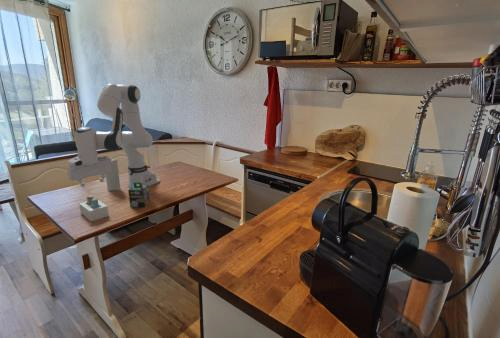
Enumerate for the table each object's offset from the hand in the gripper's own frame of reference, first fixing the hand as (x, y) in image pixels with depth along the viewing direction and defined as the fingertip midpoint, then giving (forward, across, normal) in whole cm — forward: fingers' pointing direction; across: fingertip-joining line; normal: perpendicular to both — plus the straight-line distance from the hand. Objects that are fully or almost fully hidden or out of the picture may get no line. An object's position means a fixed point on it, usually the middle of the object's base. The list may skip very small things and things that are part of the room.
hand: (92, 183), depth 142 cm
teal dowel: (+19, 0, 0) cm, 19 cm away
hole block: (+19, 0, -3) cm, 20 cm away
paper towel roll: (+20, -24, -32) cm, 45 cm away
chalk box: (+20, -24, +3) cm, 31 cm away
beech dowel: (+19, 0, -6) cm, 20 cm away
